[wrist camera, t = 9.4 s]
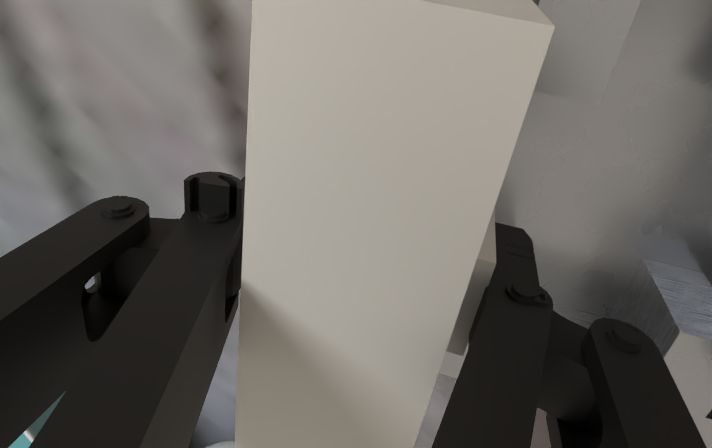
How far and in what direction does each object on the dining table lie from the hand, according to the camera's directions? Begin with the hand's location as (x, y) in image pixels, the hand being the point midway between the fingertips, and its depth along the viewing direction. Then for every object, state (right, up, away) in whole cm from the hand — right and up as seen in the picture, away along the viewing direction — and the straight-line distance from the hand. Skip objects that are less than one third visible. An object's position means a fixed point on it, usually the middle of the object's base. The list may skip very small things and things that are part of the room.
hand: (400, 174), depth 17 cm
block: (0, 0, 0) cm, 1 cm away
